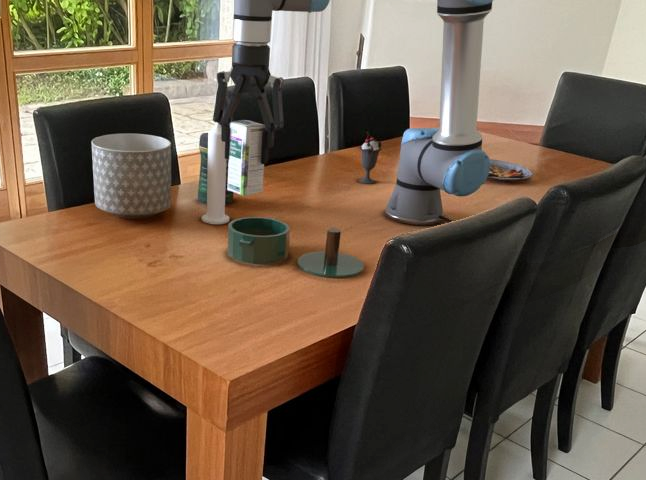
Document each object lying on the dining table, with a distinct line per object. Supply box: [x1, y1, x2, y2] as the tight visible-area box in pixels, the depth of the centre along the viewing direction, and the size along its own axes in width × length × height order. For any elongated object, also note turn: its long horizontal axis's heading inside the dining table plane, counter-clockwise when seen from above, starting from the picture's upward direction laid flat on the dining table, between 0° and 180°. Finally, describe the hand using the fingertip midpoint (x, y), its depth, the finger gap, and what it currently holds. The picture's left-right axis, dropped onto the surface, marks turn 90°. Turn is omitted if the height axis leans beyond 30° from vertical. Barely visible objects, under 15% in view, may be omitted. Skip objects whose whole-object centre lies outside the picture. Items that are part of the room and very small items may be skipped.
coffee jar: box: [197, 132, 234, 205], centre depth 199 cm, size 10×8×19 cm
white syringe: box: [201, 122, 231, 225], centre depth 183 cm, size 7×7×25 cm
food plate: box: [487, 158, 534, 182], centre depth 244 cm, size 25×23×4 cm
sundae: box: [358, 131, 382, 185], centre depth 226 cm, size 7×7×15 cm
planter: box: [91, 133, 172, 221], centre depth 185 cm, size 19×19×18 cm
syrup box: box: [228, 119, 266, 197], centre depth 159 cm, size 6×6×14 cm
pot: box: [227, 216, 291, 265], centre depth 167 cm, size 14×19×7 cm
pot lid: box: [296, 227, 365, 279], centre depth 162 cm, size 15×15×9 cm
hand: (246, 159), depth 159 cm, fingers closed on syrup box, 7 cm apart
